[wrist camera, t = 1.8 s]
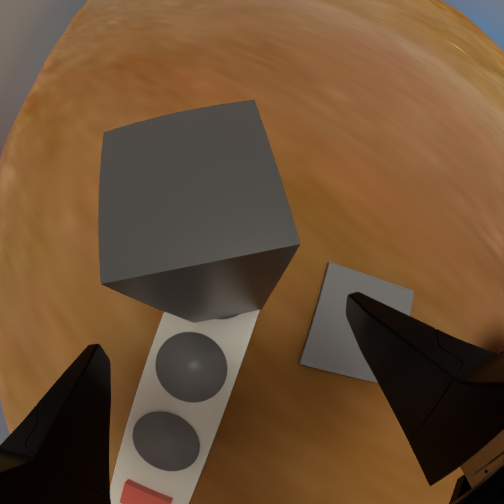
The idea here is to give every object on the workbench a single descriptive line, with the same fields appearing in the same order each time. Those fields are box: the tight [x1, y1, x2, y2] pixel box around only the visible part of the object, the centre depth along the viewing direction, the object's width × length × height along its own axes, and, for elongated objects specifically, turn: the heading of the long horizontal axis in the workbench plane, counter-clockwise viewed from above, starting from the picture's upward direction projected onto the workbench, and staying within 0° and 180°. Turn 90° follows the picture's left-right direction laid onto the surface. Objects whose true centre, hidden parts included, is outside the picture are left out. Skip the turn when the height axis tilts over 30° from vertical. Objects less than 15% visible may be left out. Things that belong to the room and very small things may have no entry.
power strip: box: [110, 310, 260, 504], centre depth 17 cm, size 24×6×3 cm, turn 161°
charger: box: [99, 100, 300, 323], centre depth 13 cm, size 5×4×13 cm
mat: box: [299, 262, 414, 383], centre depth 20 cm, size 8×8×1 cm
